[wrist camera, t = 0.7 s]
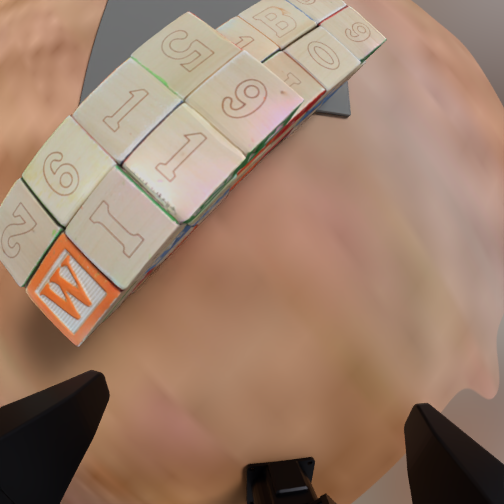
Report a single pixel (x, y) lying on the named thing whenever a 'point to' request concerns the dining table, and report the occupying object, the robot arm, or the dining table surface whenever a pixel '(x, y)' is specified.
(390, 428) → the dining table surface
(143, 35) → the mat
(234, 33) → the stack of blocks
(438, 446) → the robot arm
